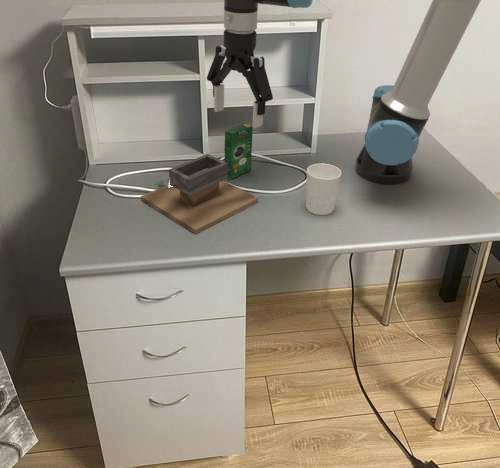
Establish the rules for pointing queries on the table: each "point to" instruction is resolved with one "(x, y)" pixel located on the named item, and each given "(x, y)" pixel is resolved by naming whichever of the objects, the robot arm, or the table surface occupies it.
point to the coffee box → (238, 149)
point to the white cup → (322, 188)
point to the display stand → (199, 194)
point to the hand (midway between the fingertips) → (237, 118)
